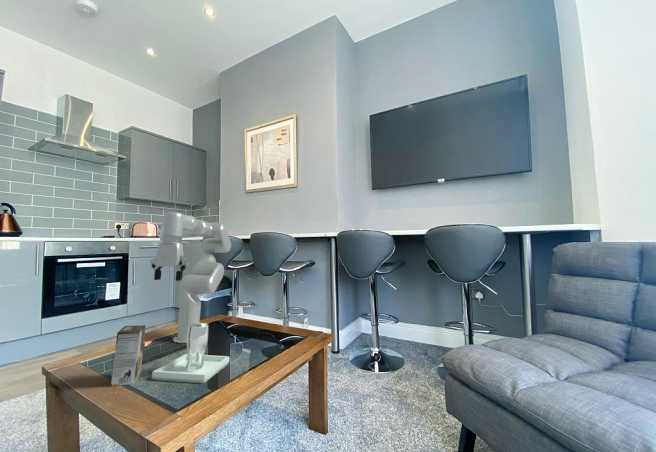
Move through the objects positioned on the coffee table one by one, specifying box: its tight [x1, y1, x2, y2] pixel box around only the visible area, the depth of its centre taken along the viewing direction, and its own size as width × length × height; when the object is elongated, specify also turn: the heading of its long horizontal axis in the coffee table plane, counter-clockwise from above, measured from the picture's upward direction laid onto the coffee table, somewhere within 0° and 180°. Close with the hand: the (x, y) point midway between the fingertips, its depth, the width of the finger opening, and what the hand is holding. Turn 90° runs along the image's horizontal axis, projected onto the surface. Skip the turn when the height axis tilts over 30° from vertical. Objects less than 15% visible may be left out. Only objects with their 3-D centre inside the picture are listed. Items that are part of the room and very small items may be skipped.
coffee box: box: [110, 325, 147, 386], centre depth 90 cm, size 9×6×16 cm
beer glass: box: [185, 322, 209, 372], centre depth 99 cm, size 7×7×15 cm
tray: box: [151, 353, 230, 384], centre depth 98 cm, size 18×18×2 cm
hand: (167, 280), depth 118 cm, fingers open, 9 cm apart
